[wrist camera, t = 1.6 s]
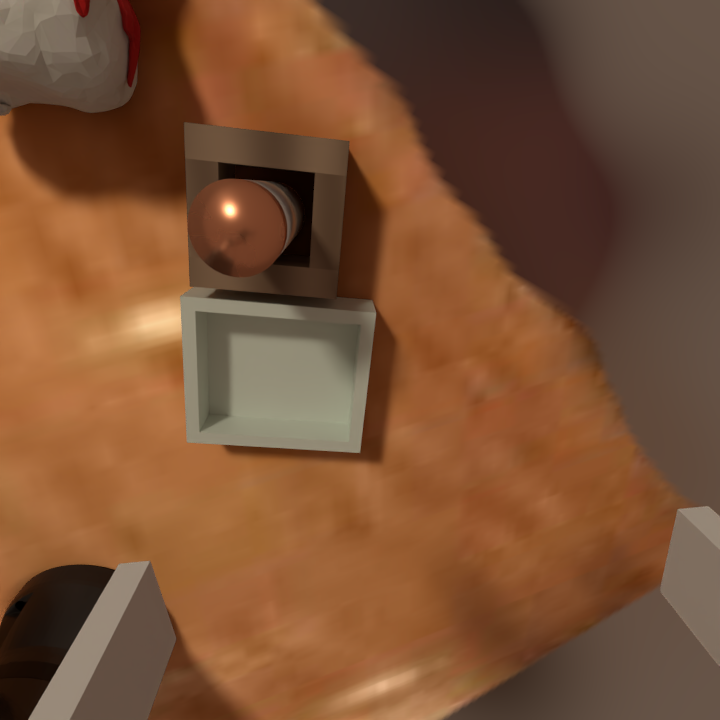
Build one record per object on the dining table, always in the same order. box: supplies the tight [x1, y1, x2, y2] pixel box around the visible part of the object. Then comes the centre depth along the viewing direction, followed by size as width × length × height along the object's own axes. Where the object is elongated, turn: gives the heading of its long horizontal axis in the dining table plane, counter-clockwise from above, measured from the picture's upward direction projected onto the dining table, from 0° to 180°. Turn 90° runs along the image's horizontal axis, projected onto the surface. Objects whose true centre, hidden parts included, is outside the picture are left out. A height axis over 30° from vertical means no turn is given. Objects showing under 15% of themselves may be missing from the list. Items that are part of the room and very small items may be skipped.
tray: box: [180, 287, 376, 453], centre depth 36 cm, size 14×12×4 cm
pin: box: [188, 179, 305, 277], centre depth 27 cm, size 4×4×14 cm
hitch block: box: [184, 122, 349, 299], centre depth 31 cm, size 10×10×5 cm
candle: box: [0, 0, 141, 115], centre depth 25 cm, size 9×11×15 cm
